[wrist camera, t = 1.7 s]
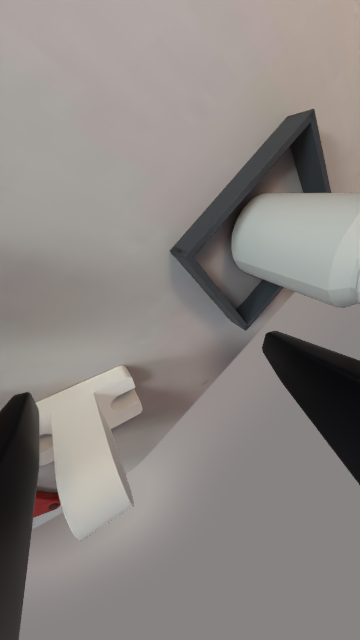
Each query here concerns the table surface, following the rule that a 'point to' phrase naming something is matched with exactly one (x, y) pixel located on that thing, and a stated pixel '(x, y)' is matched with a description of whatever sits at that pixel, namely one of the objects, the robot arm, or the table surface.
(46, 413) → the white phone stand
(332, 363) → the robot arm
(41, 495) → the scissors
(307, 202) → the can
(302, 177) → the dark grey rectangular frame
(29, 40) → the table surface
